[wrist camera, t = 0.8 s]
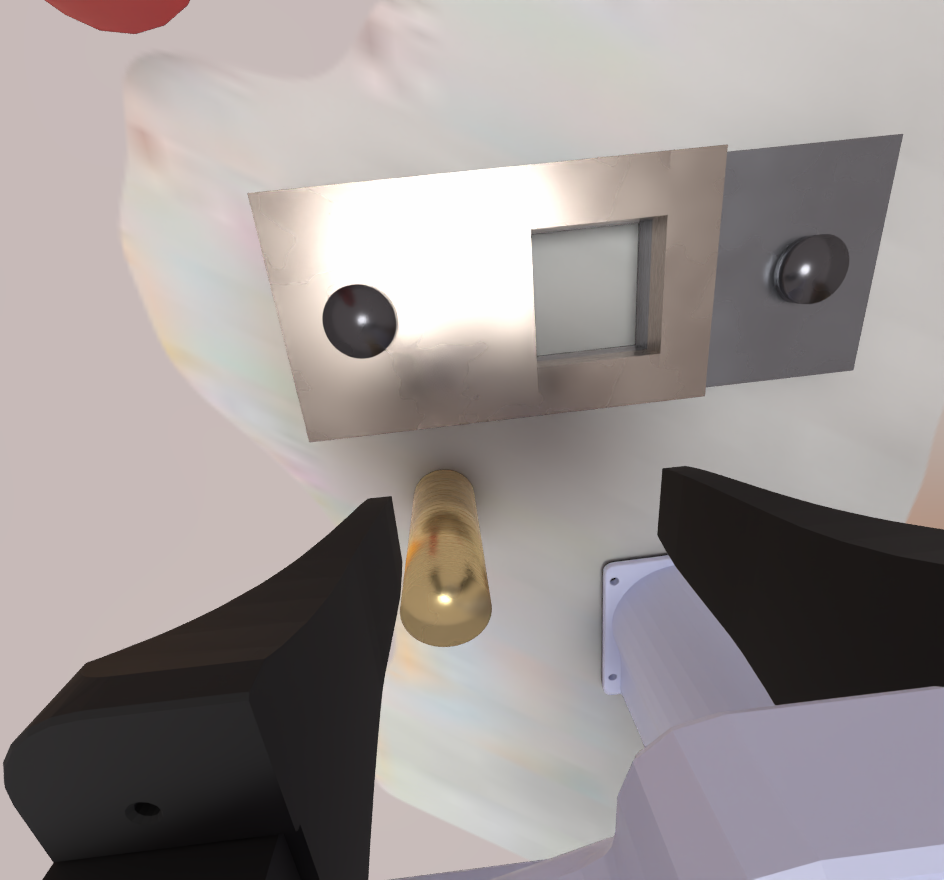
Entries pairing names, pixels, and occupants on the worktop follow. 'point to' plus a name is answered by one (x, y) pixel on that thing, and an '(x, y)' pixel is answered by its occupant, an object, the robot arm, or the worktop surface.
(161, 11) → the beer can
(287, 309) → the door strike plate
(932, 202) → the worktop surface
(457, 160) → the worktop surface
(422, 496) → the brass pin
